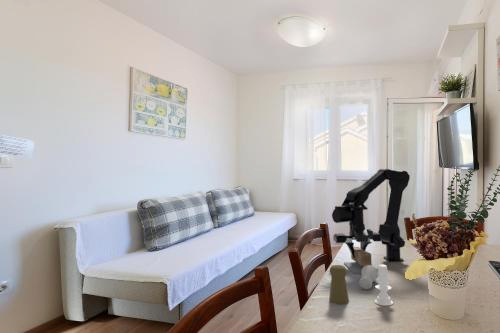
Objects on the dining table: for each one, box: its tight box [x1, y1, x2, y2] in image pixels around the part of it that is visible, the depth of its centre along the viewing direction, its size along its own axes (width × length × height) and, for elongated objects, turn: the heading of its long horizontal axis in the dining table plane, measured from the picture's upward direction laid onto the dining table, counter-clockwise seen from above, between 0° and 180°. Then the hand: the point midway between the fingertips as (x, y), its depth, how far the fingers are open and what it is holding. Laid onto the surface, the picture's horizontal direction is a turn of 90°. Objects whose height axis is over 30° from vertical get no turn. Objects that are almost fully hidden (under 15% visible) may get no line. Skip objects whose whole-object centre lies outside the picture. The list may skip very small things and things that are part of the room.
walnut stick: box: [350, 246, 373, 267], centre depth 149 cm, size 16×3×5 cm, turn 1°
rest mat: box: [343, 261, 378, 274], centre depth 149 cm, size 14×10×1 cm
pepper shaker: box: [328, 264, 350, 305], centre depth 114 cm, size 6×6×11 cm
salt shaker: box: [358, 264, 379, 291], centre depth 128 cm, size 6×6×13 cm
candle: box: [374, 263, 394, 307], centre depth 112 cm, size 5×5×12 cm
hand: (357, 258), depth 153 cm, fingers closed on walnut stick, 3 cm apart
